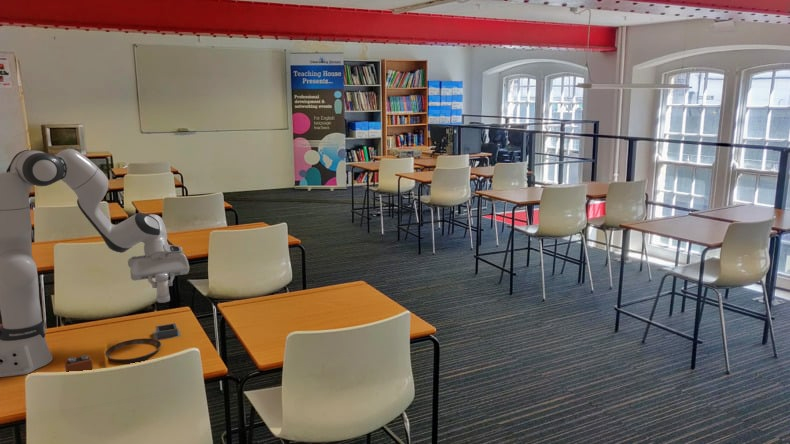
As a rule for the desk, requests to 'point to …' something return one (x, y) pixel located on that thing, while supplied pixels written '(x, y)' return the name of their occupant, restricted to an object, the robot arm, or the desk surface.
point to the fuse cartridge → (162, 287)
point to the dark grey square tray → (166, 332)
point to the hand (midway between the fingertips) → (162, 286)
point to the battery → (79, 364)
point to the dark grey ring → (130, 342)
